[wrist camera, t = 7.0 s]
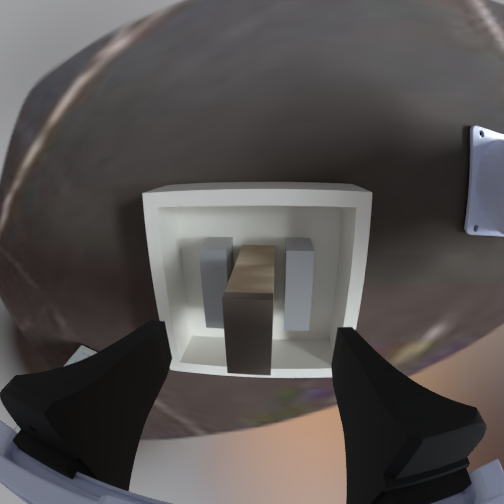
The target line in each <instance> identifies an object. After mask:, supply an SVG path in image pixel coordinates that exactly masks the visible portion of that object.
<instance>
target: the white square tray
mask: <svg viewBox="0 0 504 504" xmlns="http://www.w3.org/2000/svg"><path fill="white" fill-rule="evenodd" d="M142 195H143V207H144V217H145V227H146V236H147V244H148V252H149V259H150V267H151V273H152V280H153V286H154V292H155V298H156V304H157V309H158V314H159V320H160V321H165V325H166V330H167V335H168V340H169V345H170V350H171V355H172V361H171V364H170V370H176V371H184V372H193V373H203V374H214V375H226V376H242V377H266V378H319V377H332V369H331V363H332V358H333V352H334V346H335V340H336V334H337V328H338V327H352V328H354V329H355V330H356V326H357V320H358V315H359V309H360V303H361V297H362V290H363V283H364V276H365V268H366V260H367V252H368V242H369V232H370V220H371V207H372V192H371V191H368V190H366V189H363V188H361V187H358V186H356V185H353V184H342V183H316V182H218V183H192V184H173V185H167V186H163V187H160V188H157V189H154V190H151V191H148V192H144V193H142ZM242 245H272V246H275V273H274V311H273V336H272V358H271V375H249V374H233V373H227V362H226V349H225V336H224V322H223V307H222V297H223V295H224V292H225V289H226V287H227V284H228V281H229V279H230V276H231V273H232V271H233V268H234V266H235V263H236V260H237V258H238V255H239V253H240V250H241V247H242Z"/></svg>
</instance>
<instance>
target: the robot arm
mask: <svg viewBox="0 0 504 504" xmlns="http://www.w3.org/2000/svg"><path fill="white" fill-rule="evenodd" d="M480 132H481V136H480ZM475 225H476V228H475V230H474V226H475ZM464 229H465V232H466V233H468V234H470V235H486V236H502V237H504V135H503V134H500V133H498V132H495V131H492V130H489V129H486V128H482V127H479V126H472V127H471V128H470V174H469V189H468V201H467V210H466V219H465V226H464ZM171 361H172V355H171V350H170V345H169V340H168V335H167V330H166V325H165V321H157V320H151V321H149V322H148V323H146V324H144V325H143V326H141V327H139V328H138V329H136V330H135V331H133V332H132V333H130V334H128V335H127V336H125V337H124V338H122V339H121V340H119V341H117V342H116V343H114V344H112V345H110V346H109V347H107V348H105V349H103V350H102V351H100V352H98V353H96V354H94V355H92V356H90V357H87V358H85V359H83V360H80V361H78V362H75V363H72V364H69V365H66V366H64V367H61V368H57V369H53V370H49V371H45V372H40V373H34V374H25V375H16V376H15V377H14V378H13V379H12V380H11V381H10V382H9V383H8V384H7V385H6V386H5V387H4V388H3V389H2V391H1V392H0V398H1V401H2V403H3V405H4V406H5V408H6V410H7V411H8V412H9V414H10V415H11V417H12V418H13V419H14V421H15V422H16V424H17V425H18V426H19V428H20V429H21V430H20V431H19V432H18V434H17V433H16V432H15V431H14V430H13V429H12V428H10V427H9V426H8V425H6V424H5V423H3V422H2V421H0V482H1V483H2V484H3V485H4V486H5V487H6V488H8V489H9V490H10V491H11V492H13V493H14V494H15V495H17V496H18V497H19V498H21V499H22V500H23V501H25V502H26V503H28V504H171V503H167V502H163V501H159V500H155V499H152V498H148V497H145V496H141V495H137V494H135V493H131V492H129V485H130V479H131V473H132V468H133V464H134V459H135V455H136V451H137V448H138V444H139V440H140V437H141V434H142V431H143V428H144V424H145V422H146V419H147V417H148V414H149V412H150V410H151V408H152V406H153V404H154V402H155V400H156V398H157V396H158V394H159V392H160V389H161V387H162V385H163V383H164V381H165V379H166V377H167V374H168V371H169V367H170V364H171ZM331 369H332V379H333V387H334V391H335V395H336V400H337V404H338V408H339V412H340V417H341V421H342V425H343V431H344V439H345V451H346V468H347V503H346V504H504V471H503V469H502V467H501V464H500V463H499V460H498V459H496V460H494V461H492V462H490V463H488V464H485V465H483V466H481V467H479V468H477V469H475V470H473V471H472V472H470V473H469V474H468V472H467V469H466V468H467V467H468V466H469V464H470V463H469V460H468V458H467V456H468V455H469V454H470V453H471V452H472V451H473V449H474V448H475V447H476V446H477V445H478V443H479V442H480V441H481V439H482V438H483V436H484V433H485V431H486V424H485V422H484V421H483V419H482V417H481V415H480V413H479V411H478V410H477V408H475V407H472V406H469V405H465V404H462V403H459V402H456V401H453V400H450V399H448V398H445V397H443V396H441V395H438V394H436V393H434V392H432V391H430V390H428V389H427V388H425V387H423V386H421V385H419V384H418V383H416V382H414V381H413V380H411V379H410V378H408V377H407V376H405V375H404V374H402V373H401V372H400V371H398V370H397V369H396V368H395V367H393V366H392V365H391V364H390V363H389V362H387V361H386V360H385V359H384V358H383V357H382V356H381V355H379V354H378V353H377V352H376V351H375V350H374V349H373V348H372V347H371V346H370V345H369V344H368V343H367V342H366V341H365V340H364V339H363V338H362V337H361V336H360V335H359V334H358V333H357V332H356V330H355V329H354V328H352V327H338V328H337V334H336V340H335V346H334V352H333V358H332V363H331Z"/></svg>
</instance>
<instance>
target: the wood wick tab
mask: <svg viewBox="0 0 504 504" xmlns="http://www.w3.org/2000/svg"><path fill="white" fill-rule="evenodd" d="M274 273H275V246H272V245H242V247H241V250H240V253H239V255H238V258H237V260H236V263H235V266H234V268H233V271H232V273H231V276H230V279H229V281H228V284H227V287H226V289H225V292H224V295H223V297H222V307H223V322H224V336H225V349H226V362H227V373H233V374H249V375H271V358H272V336H273V311H274Z"/></svg>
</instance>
